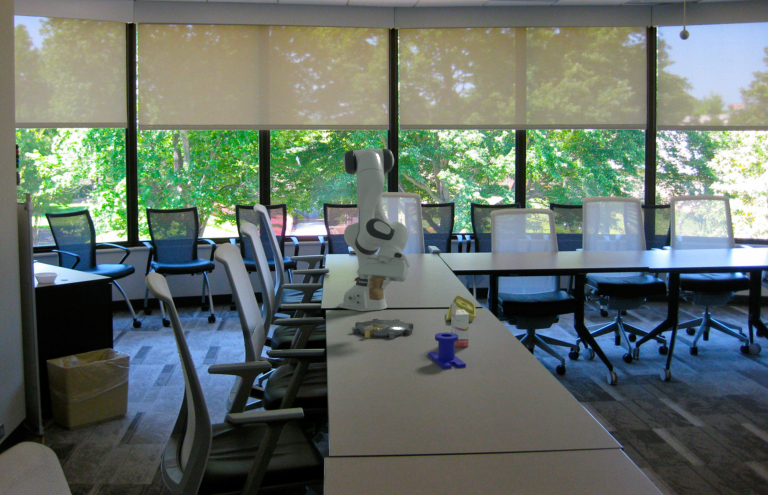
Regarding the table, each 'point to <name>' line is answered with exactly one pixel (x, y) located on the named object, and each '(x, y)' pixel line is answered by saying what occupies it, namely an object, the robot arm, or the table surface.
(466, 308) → the plastic component
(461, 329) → the ink cartridge box
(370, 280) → the brown rectangular block
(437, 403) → the table surface
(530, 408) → the table surface
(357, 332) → the sprocket plate
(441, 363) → the mount
